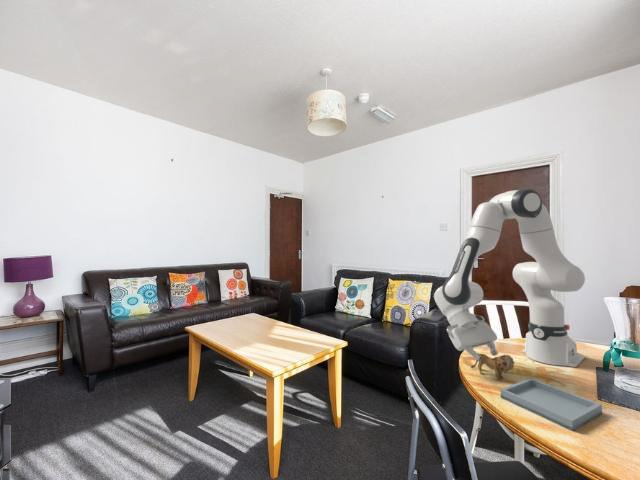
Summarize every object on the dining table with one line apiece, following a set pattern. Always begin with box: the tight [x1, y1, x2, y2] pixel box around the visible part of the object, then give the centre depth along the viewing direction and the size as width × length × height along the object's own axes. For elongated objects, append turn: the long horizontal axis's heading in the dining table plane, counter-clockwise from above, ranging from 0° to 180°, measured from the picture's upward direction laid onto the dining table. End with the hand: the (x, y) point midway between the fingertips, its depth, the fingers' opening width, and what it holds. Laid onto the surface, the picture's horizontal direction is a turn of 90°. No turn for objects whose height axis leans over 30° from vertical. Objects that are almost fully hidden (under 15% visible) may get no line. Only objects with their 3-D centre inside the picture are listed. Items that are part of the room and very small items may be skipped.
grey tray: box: [500, 377, 603, 432], centre depth 84 cm, size 16×18×2 cm
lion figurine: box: [470, 353, 515, 382], centre depth 104 cm, size 15×5×9 cm, turn 35°
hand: (487, 356), depth 105 cm, fingers open, 8 cm apart
